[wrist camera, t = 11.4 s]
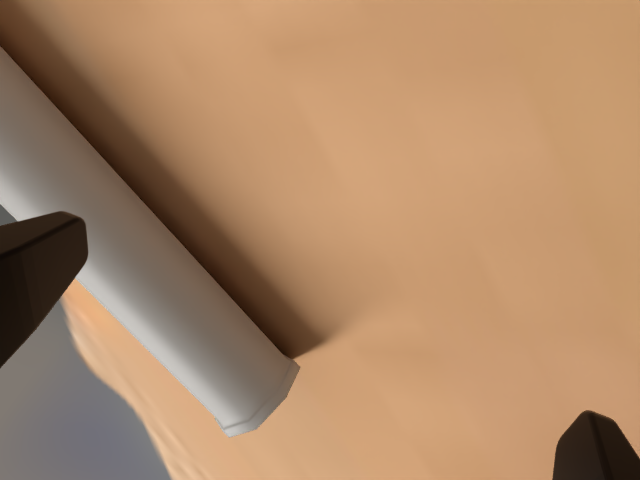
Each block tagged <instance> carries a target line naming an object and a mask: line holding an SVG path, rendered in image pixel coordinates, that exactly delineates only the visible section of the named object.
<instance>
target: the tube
mask: <svg viewBox="0 0 640 480" xmlns="http://www.w3.org/2000/svg"><path fill="white" fill-rule="evenodd" d="M0 204H1V205H2V206H3V207H4V208H5V209H6V210H7V211H8V212H9V213H10V214H12V216H13V217H14V218H15V219H16V220H17V221H22V220H26V219H30V218H34V217H38V216H42V215H46V214H50V213H53V212H58V211H65V212H68V213H71V214H74V215H76V216H79V217H81V218H83V219H84V221H85V223H86V230H87V241H88V258H87V261H86V263H85V265H84V266H83V268H82V269H81V270H80V272H79V273H78V274H77V276H76V277H75V278H76V279H77V280H78V281H79V282H80V283H81V284H82V285H83V286H84V287H85V288H86V289H87V290H88V291H89V292H90V293H91V294H92V295H93V296H94V297H95V298H96V299H97V300H98V301H99V302H100V303H101V304H102V305H103V306H104V307H105V308H106V309H107V310H108V311H109V312H110V313H111V314H112V315H113V316H114V317H115V318H116V319H117V320H118V321H119V322H120V323H121V324H122V325H123V326H124V327H125V328H126V329H127V330H128V331H129V332H130V333H131V334H132V335H133V336H134V337H135V338H136V339H137V340H138V341H139V342H140V343H141V344H142V345H143V346H144V347H145V348H146V349H147V350H148V351H149V352H150V353H151V354H152V355H153V356H154V357H155V358H156V359H157V360H158V361H159V362H160V363H161V364H162V365H163V366H164V367H165V368H166V369H167V370H168V371H169V372H170V373H171V374H172V375H173V376H174V377H175V378H176V379H177V380H178V381H179V382H180V383H181V384H182V385H183V386H184V387H185V388H186V389H187V390H188V391H189V392H190V393H191V394H192V395H193V396H194V397H196V398H197V399H198V400H199V401H200V402H201V403H202V404H203V405H204V406H205V407H206V408H207V409H208V410H209V411H210V412H211V413H212V414H213V415H214V416H215V420H216V422H217V423H218V425H219V426H220V428H221V429H222V431H223V432H224V433H225V434H226V435H227V436H228V437H233V436H236V435H239V434H243V433H246V432H249V431H252V430H256V429H257V428H258V427H259V426H260V425H261V424H262V423H263V422H264V421H265V420H266V419H267V418H268V417H269V415H270V414H271V413H272V412H273V411H274V410H275V409H276V408H277V407H278V406H279V405H280V404H281V403H282V402H283V400H284V399H285V398H286V397H287V395H288V393H289V390H290V388H291V386H292V384H293V382H294V380H295V378H296V376H297V374H298V372H299V370H300V366H299V365H298V364H297V363H296V362H295V361H294V360H292V359H290V358H289V357H287V356H285V355H283V354H282V353H281V352H280V351H279V350H278V349H277V348H276V347H275V345H274V344H273V343H272V342H271V341H270V340H269V339H268V338H267V337H266V336H265V335H264V333H263V332H262V331H261V330H260V329H259V328H258V327H257V326H256V325H255V324H254V323H253V321H252V320H251V319H250V318H249V317H248V316H247V315H246V314H245V313H244V312H243V311H242V309H241V308H240V307H239V306H238V305H237V304H236V303H235V302H234V301H233V300H232V299H231V297H230V296H229V295H228V294H227V293H226V292H225V291H224V290H223V289H222V288H221V287H220V285H219V284H218V283H217V282H216V281H215V280H214V279H213V278H212V277H211V276H210V275H209V273H208V272H207V271H206V270H205V269H204V268H203V267H202V266H201V265H200V264H199V263H198V261H197V260H196V259H195V258H194V257H193V256H192V255H191V254H190V253H189V252H188V250H187V249H186V248H185V247H184V246H183V245H182V244H181V243H180V242H179V241H178V240H177V238H176V237H175V236H174V235H173V234H172V233H171V232H170V231H169V230H168V229H167V228H166V226H165V225H164V224H163V223H162V222H161V221H160V220H159V219H158V218H157V217H156V216H155V214H154V213H153V212H152V211H151V210H150V209H149V208H148V207H147V206H146V205H145V204H144V202H143V201H142V200H141V199H140V198H139V197H138V196H137V195H136V194H135V193H134V192H133V190H132V189H131V188H130V187H129V186H128V185H127V184H126V183H125V182H124V181H123V180H122V178H121V177H120V176H119V175H118V174H117V173H116V172H115V171H114V170H113V169H112V168H111V166H110V165H109V164H108V163H107V162H106V161H105V160H104V159H103V158H102V157H101V156H100V154H99V153H98V152H97V151H96V150H95V149H94V148H93V147H92V146H91V145H90V144H89V142H88V141H87V140H86V139H85V138H84V137H83V136H82V135H81V134H80V133H79V131H78V130H77V129H76V128H75V127H74V126H73V125H72V124H71V123H70V122H69V121H68V119H67V118H66V117H65V116H64V115H63V114H62V113H61V112H60V111H59V110H58V109H57V107H56V106H55V105H54V104H53V103H52V102H51V101H50V100H49V99H48V98H47V97H46V95H45V94H44V93H43V92H42V91H41V90H40V89H39V88H38V87H37V86H36V85H35V83H34V82H33V81H32V80H31V79H30V78H29V77H28V76H27V75H26V74H25V73H24V71H23V70H22V69H21V68H20V67H19V66H18V65H17V64H16V63H15V62H14V61H13V59H12V58H11V57H10V56H9V55H8V54H7V53H6V52H5V51H4V50H3V49H2V47H1V46H0Z"/></svg>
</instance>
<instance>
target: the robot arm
mask: <svg viewBox="0 0 640 480" xmlns="http://www.w3.org/2000/svg"><path fill="white" fill-rule="evenodd" d="M87 258H88V241H87V230H86V223H85V221H84V219H83V218H81V217H79V216H76V215H74V214H71V213H68V212H65V211H58V212H53V213H50V214H46V215H42V216H38V217H34V218H30V219H26V220H22V221H18V222H14V223H10V224H6V225H2V226H0V368H1V367H2V366H3V364H5V363H6V361H7V360H8V359H9V358H10V357H11V356H12V355H13V354H14V353H15V352H16V351H17V350H18V349H19V347H20V346H21V345H22V344H23V343H24V342H25V341H26V340H27V339H28V338H29V336H30V335H31V334H32V333H33V332H34V331H35V330H36V329H37V327H38V326H39V325H40V323H41V322H42V321H43V320H44V318H45V317H46V316H47V315H48V313H49V312H50V310H51V309H52V308H53V307H54V305H55V304H56V302H57V301H58V300H59V298H60V297H61V296H62V294H63V293H64V292H65V290H66V289H67V288H68V286H69V285H70V284H71V282H72V281H73V280H74V278H75V277H76V276H77V274H78V273H79V272H80V270H81V269H82V268H83V266H84V265H85V263H86V261H87ZM552 480H640V458H639V457H638V455H637V454H636V452H635V451H634V449H633V448H632V446H631V445H630V443H629V442H628V440H627V439H626V437H625V435H624V434H623V432H622V431H621V429H620V428H619V426H618V425H617V424H616V422H615V421H614V420H612V419H611V418H609V417H606V416H604V415H601V414H598V413H596V412H593V411H589V410H586V411H584V412H582V413H581V414H580V415H579V416H578V417H577V419H576V420H575V421H574V422H573V423H572V424H571V426H570V427H569V428H568V429H567V430H566V431H565V433H564V434H563V435H562V436H561V438H560V439H559V441H558V444H557V447H556V453H555V462H554V470H553V479H552Z"/></svg>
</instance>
